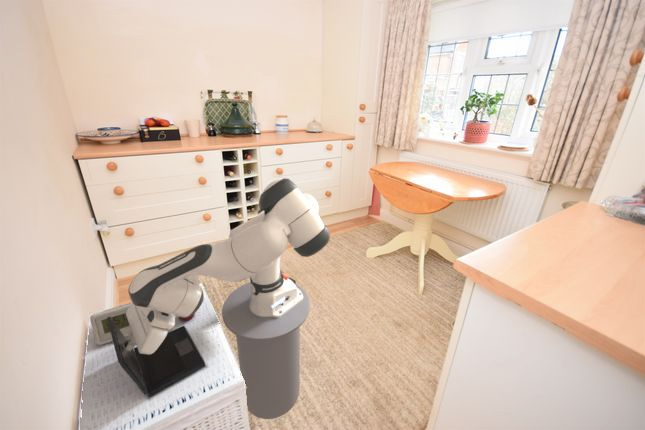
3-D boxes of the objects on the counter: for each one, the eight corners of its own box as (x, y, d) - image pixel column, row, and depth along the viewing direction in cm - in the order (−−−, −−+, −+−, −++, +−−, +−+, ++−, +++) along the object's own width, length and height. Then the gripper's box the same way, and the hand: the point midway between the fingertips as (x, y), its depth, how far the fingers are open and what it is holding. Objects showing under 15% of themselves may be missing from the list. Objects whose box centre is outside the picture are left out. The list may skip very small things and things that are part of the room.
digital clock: (94, 348, 98) (85, 324, 93) (102, 328, 105) (94, 305, 101) (149, 336, 103) (142, 313, 99) (152, 318, 111) (147, 296, 106)
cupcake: (195, 308, 116) (190, 284, 111) (201, 317, 112) (197, 292, 107) (170, 320, 110) (164, 294, 106) (175, 329, 106) (169, 304, 101)
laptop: (184, 328, 107) (183, 325, 106) (205, 366, 93) (204, 362, 92) (134, 352, 97) (133, 347, 96) (149, 397, 83) (148, 393, 83)
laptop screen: (110, 315, 88) (106, 317, 88) (122, 360, 74) (118, 362, 74) (133, 348, 96) (130, 349, 96) (148, 393, 83) (144, 395, 82)
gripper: (138, 285, 91) (109, 324, 89) (156, 324, 77) (122, 370, 75) (157, 291, 96) (130, 328, 94) (177, 328, 82) (145, 372, 80)
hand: (126, 347), depth 84 cm, fingers closed, pressing on laptop screen
